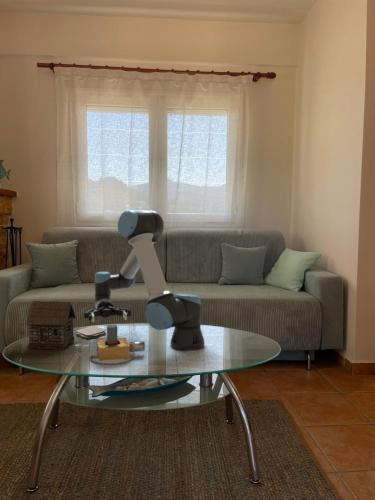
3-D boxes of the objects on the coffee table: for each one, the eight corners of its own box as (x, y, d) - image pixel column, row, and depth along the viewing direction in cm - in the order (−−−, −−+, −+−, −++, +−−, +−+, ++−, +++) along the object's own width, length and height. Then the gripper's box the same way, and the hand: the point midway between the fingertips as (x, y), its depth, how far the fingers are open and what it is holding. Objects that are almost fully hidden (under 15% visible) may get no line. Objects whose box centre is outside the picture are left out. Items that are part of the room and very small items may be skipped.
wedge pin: (116, 352, 175) (116, 324, 174) (117, 355, 171) (117, 326, 170) (106, 353, 174) (106, 325, 173) (107, 356, 170) (107, 327, 169)
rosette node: (140, 348, 185) (140, 334, 185) (148, 361, 168) (148, 346, 167) (88, 352, 179) (88, 338, 178) (91, 366, 162) (91, 351, 161)
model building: (25, 349, 183) (24, 303, 181) (39, 340, 197) (38, 297, 196) (66, 350, 182) (65, 304, 180) (77, 340, 196) (76, 298, 194)
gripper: (131, 314, 202) (139, 325, 182) (77, 317, 195) (79, 329, 175) (131, 298, 202) (139, 307, 181) (77, 301, 194) (79, 311, 174)
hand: (109, 318), depth 178 cm, fingers open, 13 cm apart
